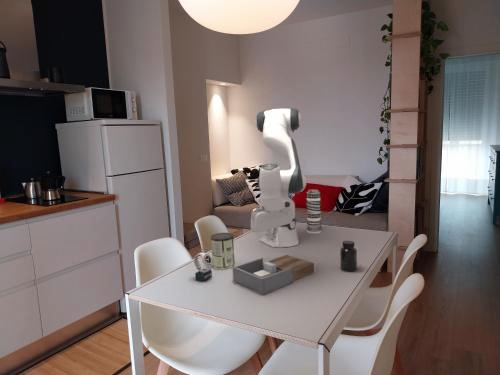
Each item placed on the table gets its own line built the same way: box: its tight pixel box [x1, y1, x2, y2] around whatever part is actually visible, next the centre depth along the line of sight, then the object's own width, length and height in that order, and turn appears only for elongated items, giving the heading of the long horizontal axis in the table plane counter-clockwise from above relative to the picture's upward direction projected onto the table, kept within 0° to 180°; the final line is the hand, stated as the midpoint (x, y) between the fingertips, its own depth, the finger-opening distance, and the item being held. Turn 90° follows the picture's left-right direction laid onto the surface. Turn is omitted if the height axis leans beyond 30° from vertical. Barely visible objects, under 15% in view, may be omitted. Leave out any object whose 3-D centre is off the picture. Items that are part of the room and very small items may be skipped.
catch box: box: [232, 257, 294, 296], centre depth 147 cm, size 18×16×6 cm
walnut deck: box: [263, 254, 315, 282], centre depth 156 cm, size 16×14×4 cm
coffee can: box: [210, 232, 236, 270], centre depth 167 cm, size 10×10×14 cm
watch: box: [193, 252, 213, 283], centre depth 152 cm, size 6×8×11 cm
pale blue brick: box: [263, 261, 276, 275], centre depth 150 cm, size 5×5×2 cm
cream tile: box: [253, 270, 271, 278], centre depth 147 cm, size 5×5×2 cm
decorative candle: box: [305, 189, 322, 234], centre depth 216 cm, size 9×9×25 cm
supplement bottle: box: [339, 240, 358, 273], centre depth 156 cm, size 7×7×12 cm
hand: (272, 238), depth 148 cm, fingers closed
